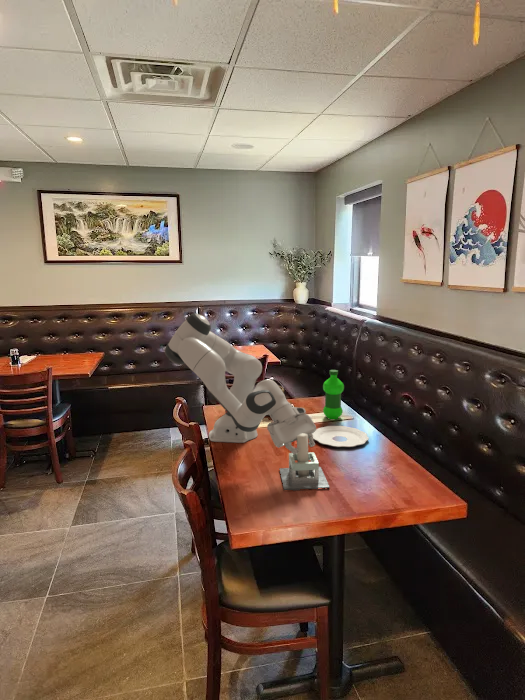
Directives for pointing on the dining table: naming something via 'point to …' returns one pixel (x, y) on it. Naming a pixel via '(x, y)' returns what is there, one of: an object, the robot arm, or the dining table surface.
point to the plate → (352, 435)
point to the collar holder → (308, 482)
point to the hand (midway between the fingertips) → (304, 449)
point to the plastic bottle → (333, 396)
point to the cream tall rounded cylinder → (302, 452)
